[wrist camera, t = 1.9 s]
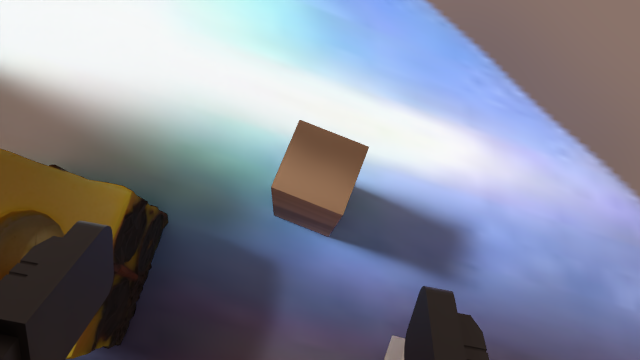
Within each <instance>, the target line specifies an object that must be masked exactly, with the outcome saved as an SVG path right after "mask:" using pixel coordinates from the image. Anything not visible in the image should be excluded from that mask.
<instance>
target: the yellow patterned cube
mask: <svg viewBox="0 0 640 360" xmlns="http://www.w3.org/2000/svg"><path fill="white" fill-rule="evenodd" d="M78 221H86V222H92V223H97V224H102V225H108V226H110V227H111V229H112V234H113V264H114V277H113V282H112V286H111V289H110V292H109V294H108V296H107V298H106V299H105V301H104V302H103V304H102V305H101V307H100V308H99V310H98V311H97V313H96V314H95V316H94V317H93V319H92V320H91V322H90V323H89V325H88V326H87V328H86V329H85V331H84V332H83V334H82V335H81V337H80V338H79V340H78V341H77V343H76V344H75V346H74V347H73V349H72V350H71V352H70V353H69V355H68V356H67V358H66V359H72V358H75V357H78V356H82V355H86V354H88V353H90V352H91V351H93V350H95V349H99V348H101V347H105V348H108V349H109V348H111V347H113V346H115V345H120V344H121V342H122V340H123V338H124V336H125V334H126V332H127V329H128V327H129V321H130V320H131V318H132V317H133V316H134V313H135V310H136V302H137V301H138V299H139V298H140V293H141V291H142V290H143V285H144V283H145V281H146V279H147V275H148V272H149V270H150V269H151V267H152V266H151V262H152V259H153V256H154V253H155V250H156V248H157V246H158V243H159V240H160V237H161V234H162V231H163V229H164V227H165V226H166V225H167V223H168V215H167V214H166V213H164V212H162V211H160V210H159V209H158V207H156V206H153V205H151V206H150V205H149V204H148V202H147V201H146V200H144V199H142V198H141V197H139V196H137V195H136V194H135V193H134V192H133V191H132V190H130V189H128V188H126V187H125V186H121V185H117V184H112V183H107V182H101V181H94V180H88V179H86V178H84V177H82V176H78V175H76V174H73V173H70V172H68V171H66V170H64V169H62V168H60V167H58V166H57V165H49V166H47V165H44V164H41V163H38V162H35V161H32V160H30V159H27V158H24V157H22V156H19V155H17V154H15V153H12V152H9V151H6V150H3V149H0V280H1V279H2V278H3V277H4V276H5V275H6V274H9V271H10V270H11V269H12V268H13V267H14V266H15V265H16V264H17V263H20V260H21V259H22V258H23V257H24V256H25V255H26V254H27V253H28V252H29V251H30V250H31V249H32V248H33V247H34V246H35V245H37V244H39V243H41V242H43V241H45V240H47V239H49V238H51V237H52V236H57V237H63V236H64V235H65V234H66V233H67V232H68V231H69V230H70V229H71V228H72V226H73V225H74V224H75V223H76V222H78Z"/></svg>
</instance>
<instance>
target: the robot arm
mask: <svg viewBox="0 0 640 360" xmlns="http://www.w3.org/2000/svg"><path fill="white" fill-rule="evenodd" d="M113 277H114V264H113V234H112V229H111V227H110V226H108V225H102V224H97V223H92V222H86V221H78V222H76V223H75V224H74V225H73V226H72V228H71V229H70V230H69V231H68V232H67V233H66V234H65V235H64V236H63V237H57V236H52V237H51V238H49V239H47V240H45V241H43V242H41V243H39V244H37V245H35V246H34V247H33V248H32V249H31V250H30V251H29V252H28V253H27V254H26V255H25V256H24V257H23V258H22V259H21V260H20V263H17V264H16V265H15V266H14V267H13V268H12V269H11V270H10V271H9V274H6V275H5V276H4V277H3V278H2V279H1V280H0V360H65V359H66V358H67V356H68V355H69V353H70V352H71V350H72V349H73V347H74V346H75V344H76V343H77V341H78V340H79V338H80V337H81V335H82V334H83V332H84V331H85V329H86V328H87V326H88V325H89V323H90V322H91V320H92V319H93V317H94V316H95V314H96V313H97V311H98V310H99V308H100V307H101V305H102V304H103V302H104V301H105V299H106V298H107V296H108V294H109V292H110V289H111V286H112V282H113ZM486 350H487V349H486V345H485V341H484V336H483V332H482V331H481V329H480V328H479V327H478V325H477V324H476V322H475V321H474V320H473V318H472V317H471V315H465V314H460V313H457V308H456V303H455V298H454V294H453V292H452V291H448V290H442V289H437V288H432V287H426V286H423V287H422V288H421V290H420V292H419V295H418V298H417V301H416V305H415V308H414V311H413V314H412V317H411V320H410V323H409V326H408V329H407V333H406V338H405V345H404V360H489V357H488V353H486Z"/></svg>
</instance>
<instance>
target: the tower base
mask: <svg viewBox="0 0 640 360" xmlns="http://www.w3.org/2000/svg"><path fill="white" fill-rule="evenodd" d="M404 345H405V339H404V338H401V337H397V336H393V335H392V337H391V340H390V343H389V346H388V349H387V352H386V355H385V358H384V360H404Z"/></svg>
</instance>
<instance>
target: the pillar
mask: <svg viewBox="0 0 640 360" xmlns="http://www.w3.org/2000/svg"><path fill="white" fill-rule="evenodd" d="M368 148H369V147H368V146H365V145H363V144H360V143H358V142H355V141H353V140H350V139H348V138H345V137H342V136H340V135H337V134H335V133H332V132H330V131H327V130H325V129H322V128H320V127H317V126H314V125H312V124H309V123H307V122H304V121H302V120H299V123H298V125H297V127H296V130H295V132H294V134H293V137H292V139H291V141H290V144H289V146H288V148H287V151H286V153H285V156H284V158H283V160H282V163H281V165H280V167H279V170H278V172H277V174H276V177H275V179H274V181H273V184H272V186H271V191H272V201H273V212H274V216H277V217H279V218H282V219H284V220H287V221H289V222H292V223H295V224H297V225H300V226H302V227H305V228H307V229H310V230H312V231H315V232H317V233H320V234H322V235H325V236H327V237H329V235H330V234H331V232H332V231H333V229H334V228H335V226H336V225H337V223H338V222H339V220H340V219H341V217H342V216H343V214H344V211H345V208H346V206H347V203H348V201H349V198H350V195H351V193H352V190H353V188H354V185H355V182H356V180H357V177H358V175H359V172H360V169H361V167H362V164H363V161H364V159H365V156H366V154H367V151H368Z"/></svg>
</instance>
